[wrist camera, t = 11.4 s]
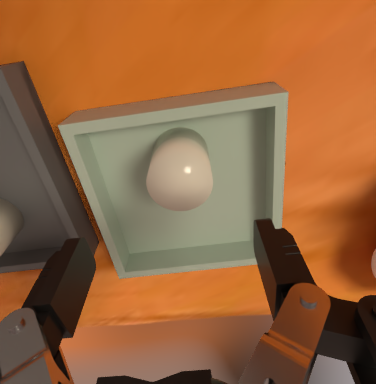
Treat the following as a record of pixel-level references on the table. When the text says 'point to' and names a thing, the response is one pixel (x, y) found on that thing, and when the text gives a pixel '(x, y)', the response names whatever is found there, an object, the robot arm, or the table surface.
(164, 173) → the pebble
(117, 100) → the table surface
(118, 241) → the shallow green tray
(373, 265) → the cell model
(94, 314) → the table surface
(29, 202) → the parts tray
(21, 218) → the pebble
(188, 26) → the table surface
